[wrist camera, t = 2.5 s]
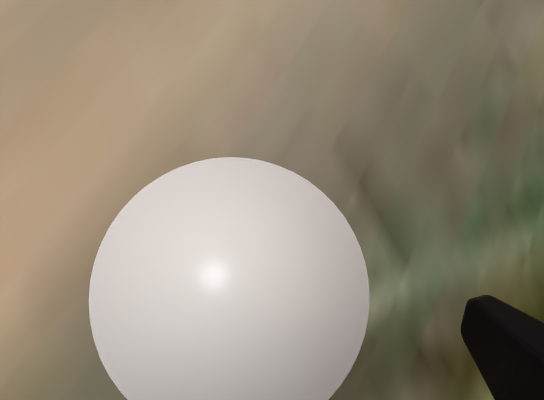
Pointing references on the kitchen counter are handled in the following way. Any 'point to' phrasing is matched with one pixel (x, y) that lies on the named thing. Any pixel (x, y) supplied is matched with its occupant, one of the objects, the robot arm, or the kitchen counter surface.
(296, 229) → the white bulb
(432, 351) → the kitchen counter surface
